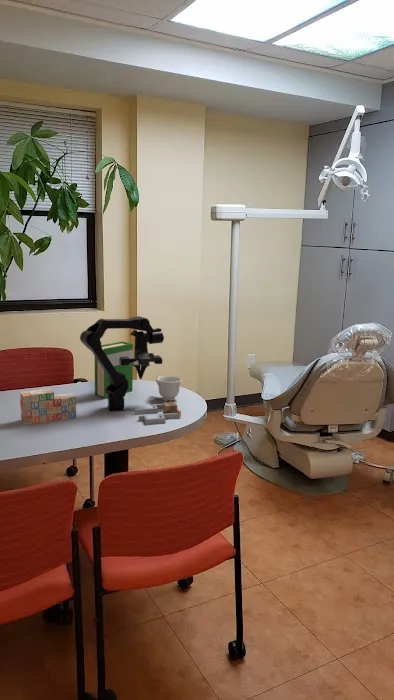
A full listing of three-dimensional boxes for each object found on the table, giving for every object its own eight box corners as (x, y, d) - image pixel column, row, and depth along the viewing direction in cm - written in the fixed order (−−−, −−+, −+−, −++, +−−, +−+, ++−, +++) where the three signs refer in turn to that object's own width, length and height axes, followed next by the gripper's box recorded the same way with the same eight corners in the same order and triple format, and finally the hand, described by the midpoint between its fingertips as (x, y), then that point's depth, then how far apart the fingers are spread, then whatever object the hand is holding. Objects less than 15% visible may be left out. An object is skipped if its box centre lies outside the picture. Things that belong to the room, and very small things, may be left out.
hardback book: (105, 399, 254) (105, 348, 249) (94, 395, 259) (94, 346, 254) (132, 391, 268) (132, 343, 263) (121, 388, 272) (122, 341, 267)
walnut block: (165, 417, 232) (166, 406, 231) (162, 413, 237) (163, 402, 236) (177, 416, 234) (177, 405, 233) (174, 412, 238) (174, 401, 237)
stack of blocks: (72, 413, 233) (72, 386, 230) (76, 418, 228) (76, 389, 225) (20, 420, 223) (19, 391, 220) (23, 425, 218) (22, 395, 215)
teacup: (165, 392, 267) (166, 373, 265) (186, 399, 257) (187, 379, 255) (146, 397, 259) (147, 376, 257) (167, 404, 249) (168, 383, 247)
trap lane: (141, 424, 222) (141, 417, 221) (132, 410, 240) (132, 403, 239) (183, 421, 228) (184, 414, 227) (172, 407, 245) (172, 401, 245)
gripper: (123, 349, 232) (123, 384, 235) (165, 348, 238) (165, 382, 241) (118, 344, 242) (118, 378, 246) (159, 343, 248) (159, 376, 251)
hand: (140, 378), depth 246 cm, fingers closed
